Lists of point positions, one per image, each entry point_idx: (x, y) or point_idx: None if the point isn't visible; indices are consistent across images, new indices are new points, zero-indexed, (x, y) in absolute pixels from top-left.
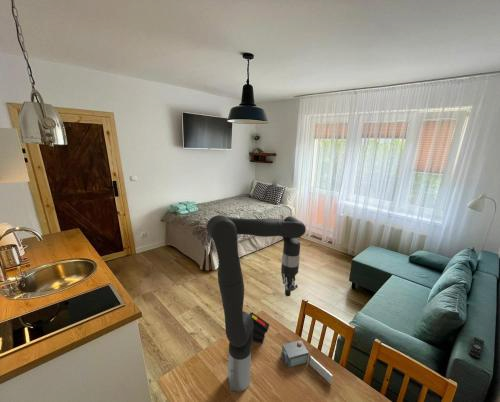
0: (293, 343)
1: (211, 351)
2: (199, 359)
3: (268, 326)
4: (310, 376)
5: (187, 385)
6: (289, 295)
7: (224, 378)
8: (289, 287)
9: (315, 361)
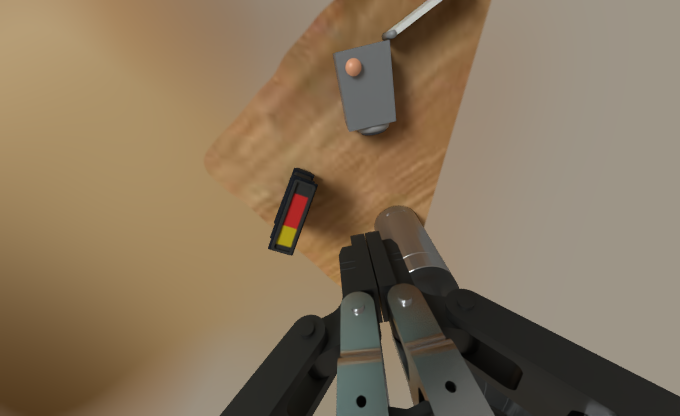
0: (347, 90)
1: (328, 271)
2: None
3: (304, 183)
4: (422, 48)
5: None
6: (394, 247)
7: None
8: (520, 402)
9: (416, 19)
